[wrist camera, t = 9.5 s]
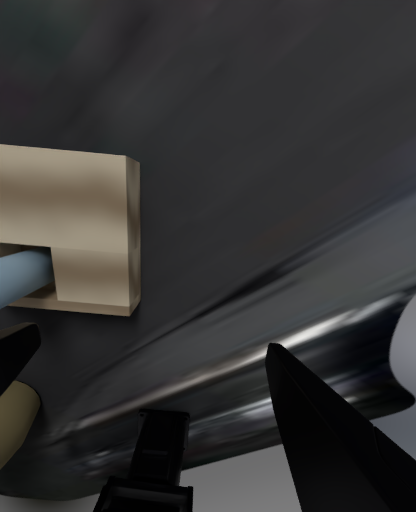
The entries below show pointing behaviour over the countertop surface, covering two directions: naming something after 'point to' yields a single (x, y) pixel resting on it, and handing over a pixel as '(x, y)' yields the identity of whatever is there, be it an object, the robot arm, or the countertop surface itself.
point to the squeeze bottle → (16, 418)
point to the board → (74, 225)
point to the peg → (24, 273)
